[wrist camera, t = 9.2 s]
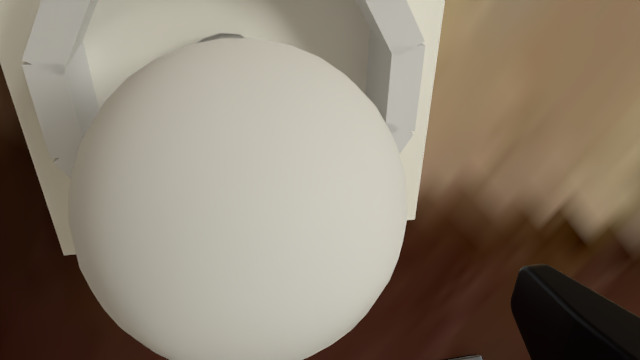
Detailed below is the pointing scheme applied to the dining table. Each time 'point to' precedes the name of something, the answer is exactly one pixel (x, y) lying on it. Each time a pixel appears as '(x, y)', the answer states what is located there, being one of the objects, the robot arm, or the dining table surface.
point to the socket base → (188, 28)
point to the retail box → (469, 358)
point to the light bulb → (237, 202)
